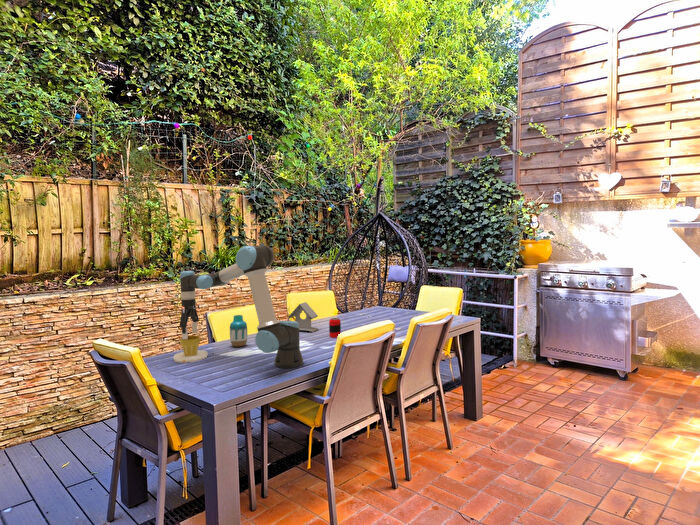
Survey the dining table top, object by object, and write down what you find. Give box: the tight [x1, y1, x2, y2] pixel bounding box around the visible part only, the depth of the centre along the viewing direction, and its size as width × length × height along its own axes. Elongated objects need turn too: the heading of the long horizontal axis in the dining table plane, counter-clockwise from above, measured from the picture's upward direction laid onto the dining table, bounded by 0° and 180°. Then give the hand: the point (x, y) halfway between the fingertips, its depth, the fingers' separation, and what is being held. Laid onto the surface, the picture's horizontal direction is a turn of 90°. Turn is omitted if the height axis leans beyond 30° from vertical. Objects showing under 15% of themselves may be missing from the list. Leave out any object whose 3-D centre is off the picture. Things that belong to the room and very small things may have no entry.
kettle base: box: [173, 349, 208, 364], centre depth 243 cm, size 18×18×2 cm
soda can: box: [328, 317, 342, 339], centre depth 287 cm, size 8×8×12 cm
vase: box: [229, 314, 248, 348], centre depth 266 cm, size 11×11×19 cm
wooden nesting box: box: [287, 301, 319, 334], centre depth 306 cm, size 18×10×20 cm, turn 68°
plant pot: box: [179, 334, 201, 356], centre depth 242 cm, size 10×10×10 cm
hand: (190, 336), depth 242 cm, fingers open, 13 cm apart
